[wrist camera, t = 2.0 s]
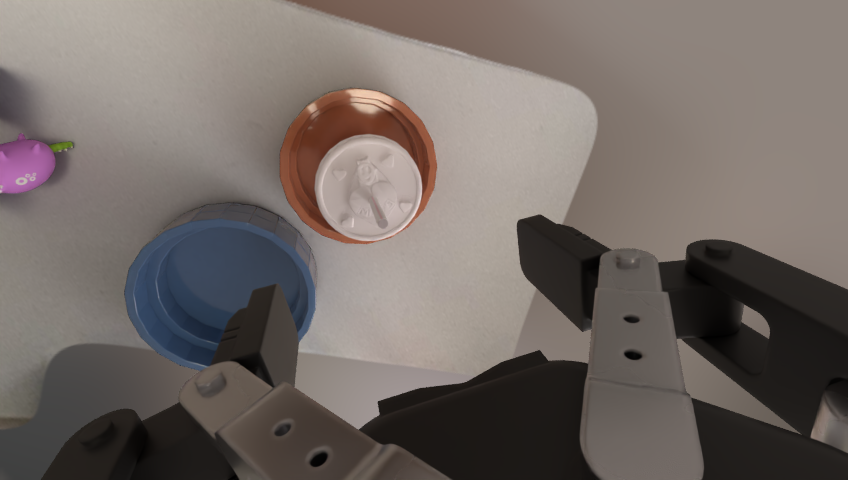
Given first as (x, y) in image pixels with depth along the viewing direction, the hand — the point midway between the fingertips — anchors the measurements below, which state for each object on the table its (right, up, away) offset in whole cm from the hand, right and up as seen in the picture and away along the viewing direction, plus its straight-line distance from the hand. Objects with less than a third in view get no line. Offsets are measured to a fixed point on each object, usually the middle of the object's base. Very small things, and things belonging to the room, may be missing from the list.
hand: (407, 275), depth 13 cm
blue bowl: (-15, -2, +20) cm, 25 cm away
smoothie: (-5, +8, +19) cm, 21 cm away
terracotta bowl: (-5, +8, +19) cm, 21 cm away
